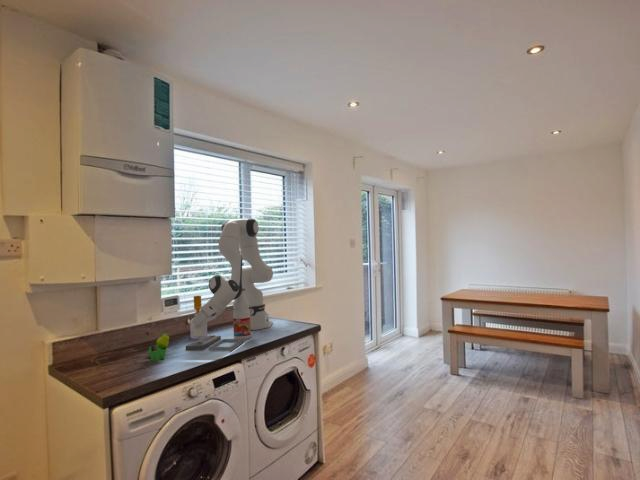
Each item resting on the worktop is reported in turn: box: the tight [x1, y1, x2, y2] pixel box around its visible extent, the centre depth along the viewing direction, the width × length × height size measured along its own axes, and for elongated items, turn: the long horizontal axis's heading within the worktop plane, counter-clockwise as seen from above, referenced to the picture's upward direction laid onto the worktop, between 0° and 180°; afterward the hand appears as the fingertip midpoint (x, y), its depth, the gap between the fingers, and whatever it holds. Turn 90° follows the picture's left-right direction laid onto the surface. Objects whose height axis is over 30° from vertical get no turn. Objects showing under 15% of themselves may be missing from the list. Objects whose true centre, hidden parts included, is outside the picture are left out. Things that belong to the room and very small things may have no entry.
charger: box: [193, 323, 206, 340], centre depth 188 cm, size 4×4×10 cm
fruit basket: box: [148, 333, 170, 363], centre depth 175 cm, size 11×9×11 cm
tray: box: [207, 338, 244, 353], centre depth 187 cm, size 16×12×2 cm
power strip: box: [185, 334, 222, 351], centre depth 192 cm, size 20×9×4 cm, turn 169°
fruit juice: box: [232, 288, 252, 340], centre depth 204 cm, size 9×9×28 cm
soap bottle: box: [189, 295, 208, 340], centre depth 210 cm, size 9×9×25 cm
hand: (198, 326), depth 188 cm, fingers closed on charger, 4 cm apart
